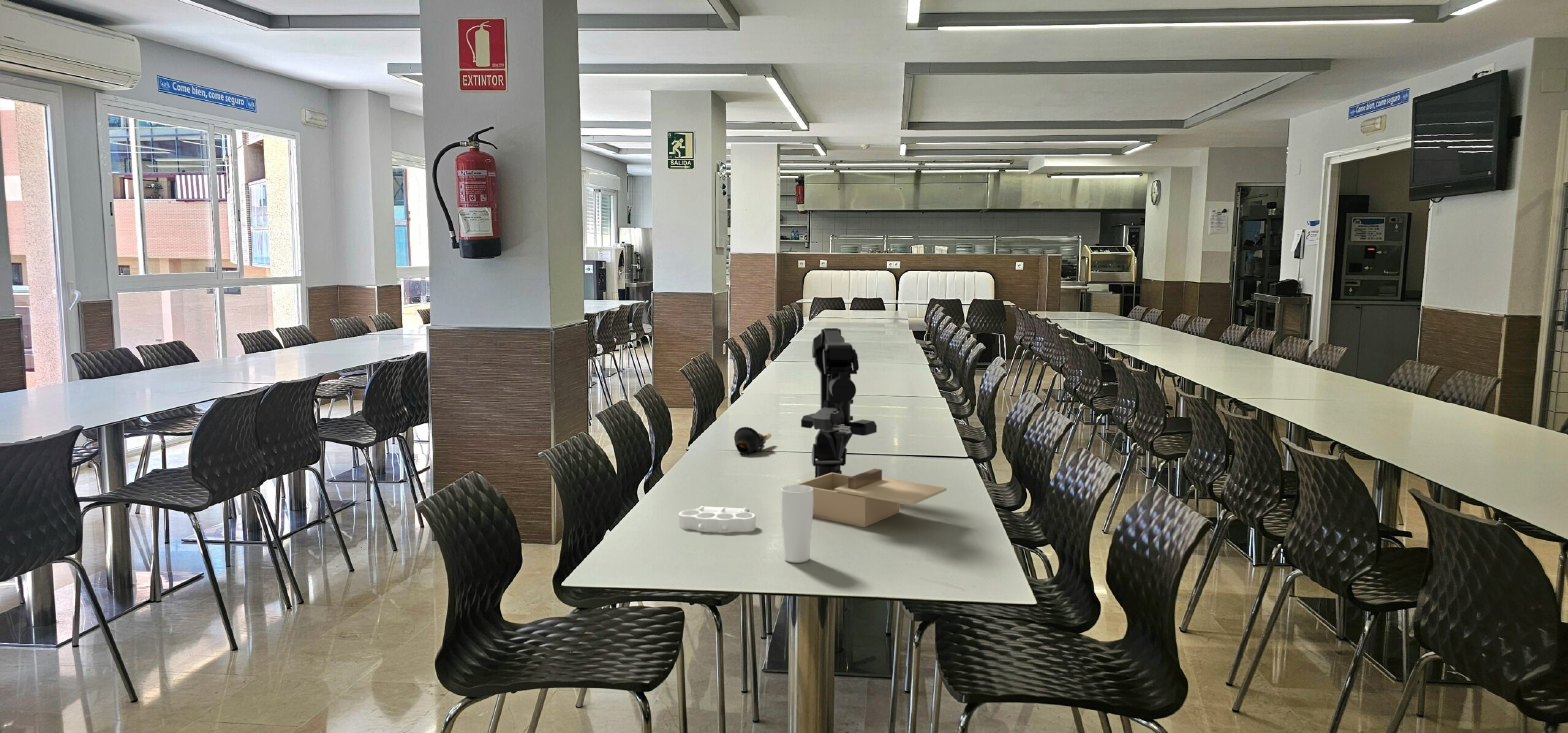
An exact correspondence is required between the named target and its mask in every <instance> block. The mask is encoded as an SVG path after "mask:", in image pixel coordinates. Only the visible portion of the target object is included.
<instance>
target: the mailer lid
mask: <svg viewBox="0 0 1568 733" xmlns="http://www.w3.org/2000/svg"><path fill="white" fill-rule="evenodd" d="M851 476H852V477H849V478H848V484H846V485H843V486H841V487H838V488H835V491H837V492H842V493H847V494H853V495H858V496H864V497H869V498H874V499H880V500H885V501H891V502H896V503H900V504H902V505H908V506H914V505H916V504H918V503H921V502H924V501H926V500H928V499H931V498H932V497H935V496H937V495H939V494H942V493H945V492H946V491H947V489H948V488H947V487H942V486H938V485H930V484H926V483H919V482H913V481H906V480H901V479H896V478H888V477H884V476H883V469H880V468H873V469H870V470H867V471H863V472H861V473H858V474H855V475H851Z"/></svg>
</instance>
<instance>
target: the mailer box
mask: <svg viewBox="0 0 1568 733" xmlns="http://www.w3.org/2000/svg"><path fill="white" fill-rule="evenodd" d="M852 476H853V475H848V474H838V473H829V474H826V475H823V476H820V477H817V478H815V477H814V478H811V479H808V480H805V481H802V482H799V483H795V484H794V485H806V486H810V487H812V488H813V494H814V508H813V518H819V519H822V520H827V521H833V522H838V523H843V524H845V525H852V526H857V527H863V528H866V527H869V526H871V525H873V524H875V523H878V522H880V521H882V520H884V519H887V518H889V517H892V516H894V515H896V514H899V513H900V511H901V510H900V508H901V507H900V505H901V503H896V502H891V501H885V500H880V499H874V498H869V497H864V496H858V495H853V494H847V493H842V492H837V491H835V488H838V487H841V486H843V485H846V484H848V478H849V477H852Z"/></svg>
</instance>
